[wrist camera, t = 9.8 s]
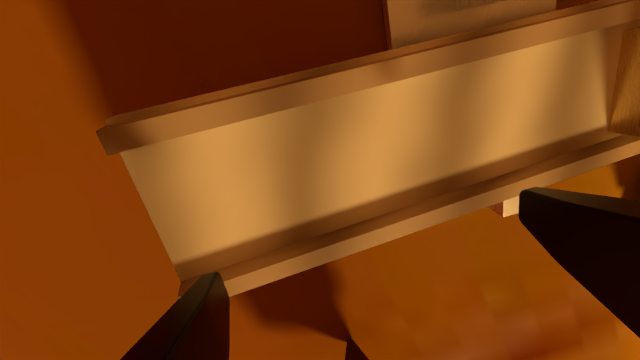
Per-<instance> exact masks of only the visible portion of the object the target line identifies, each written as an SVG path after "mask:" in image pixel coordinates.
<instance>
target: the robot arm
mask: <svg viewBox="0 0 640 360" xmlns="http://www.w3.org/2000/svg"><path fill="white" fill-rule="evenodd" d="M518 215H519V219H520V221H521V223H522V224H523V225H524V226H525V227H526V228H527V229H528V231H529V232H530V233H531V234H532V235H533V236H534V237H535V238H536V239H537V240H538V242H539V243H540V244H541V245H542V246H543V247H544V248H545V249H546V250H547V252H548V253H549V254H550V255H551V256H552V257H553V258H554V259H555V260H556V261H557V262H558V263H559V264H560V265H561V266H562V267H563V268H564V269H565V270H566V271H567V272H568V273H569V274H571V275H572V276H573V277H574V278H575V279H576V280H577V281H578V282H579V283H580V284H581V285H583V286H584V287H585V288H586V289H587V290H588V291H589V292H590V293H591V294H592V295H593V296H595V297H596V298H597V299H598V300H599V301H600V302H601V303H602V304H603V305H604V306H605V307H606V308H608V309H609V310H610V311H611V312H612V313H613V314H614V315H615V316H616V317H617V318H618V319H620V320H621V321H622V322H623V323H624V324H625V325H626V326H627V327H628V328H629V329H630V330H632V331H633V332H634V333H635V334H636V335H637V336H638V337H639V338H640V201H638V200H630V199H623V198H615V197H608V196H601V195H593V194H586V193H578V192H571V191H564V190H556V189H549V188H541V187H532V188H528V189H525V190H522V191H521V192H520V194H519V211H518ZM229 307H230V302H229V295H228V292H227V289H226V287H225V285H224V282H223V280H222V277H221V275H220V273H219V272H218V271H213V272H209V273H206V274H203V275H202V276H201V277H200V278H199V279H198V280H197V281H196V282H195V283H194V284H193V285H192V286H191V287H190V288H189V289H188V290H187V291H186V292H185V293H184V294H183V295H182V296H181V297H180V298H179V299H178V300H177V301H176V302H175V304H174V305H173V306H172V307H171V308H170V309H169V310H168V311H167V312H166V313H165V314H164V315H163V316H162V317H161V318H160V319H159V320H158V321H157V322H156V323H155V324H154V325H153V326H152V327H151V328H150V329H149V330H148V331H147V332H146V333H145V334H144V336H143V337H142V338H141V339H140V340H139V341H138V342H137V343H136V344H135V345H134V346H133V347H132V348H131V349H130V350H129V351H128V352H127V353H126V354H125V355H124V356H123V357H122V358H121V359H120V360H229Z"/></svg>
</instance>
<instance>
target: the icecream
mask: <svg viewBox="0 0 640 360" xmlns="http://www.w3.org/2000/svg"><path fill="white" fill-rule="evenodd" d="M345 360H369V359H368V358H367V357H366V356H365V354H364V353H363V352H362V351H361V349H360V348H359V347H358V345H357V344H356V343H355V342H354V341H353V340H351V339H350V340H348V341H347V347H346V355H345Z"/></svg>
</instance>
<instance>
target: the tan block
mask: <svg viewBox="0 0 640 360" xmlns="http://www.w3.org/2000/svg"><path fill="white" fill-rule="evenodd" d="M608 131H609V132H614V133H620V134H625V135H631V136H637V137H640V26H638V27H634V28H630V29H626V30H623V35H622V42H621V48H620V54H619V61H618V67H617V73H616V80H615V86H614V92H613V99H612V105H611V111H610V118H609V124H608Z"/></svg>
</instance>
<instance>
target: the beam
mask: <svg viewBox="0 0 640 360" xmlns="http://www.w3.org/2000/svg"><path fill="white" fill-rule="evenodd" d="M638 26H640V0H599V1H594V2H590V3H586V4H582V5H578V6H573V7H569V8H565V9H561V10H556V11H552V12H548V13H544V14H540V15H535V16H531V17H527V18H523V19H519V20H514V21H510V22H506V23H502V24H497V25H493V26H489V27H485V28H481V29H476V30H472V31H468V32H464V33H460V34H455V35H451V36H447V37H443V38H438V39H434V40H430V41H426V42H422V43H417V44H413V45H409V46H405V47H401V48H396V49H392V50H388V51H384V52H379V53H375V54H371V55H367V56H363V57H358V58H354V59H350V60H346V61H341V62H337V63H333V64H329V65H325V66H320V67H316V68H312V69H308V70H304V71H299V72H295V73H291V74H287V75H282V76H278V77H274V78H270V79H266V80H261V81H257V82H253V83H249V84H245V85H240V86H236V87H232V88H228V89H223V90H219V91H215V92H211V93H207V94H202V95H198V96H194V97H190V98H186V99H181V100H177V101H173V102H169V103H164V104H160V105H156V106H152V107H148V108H143V109H139V110H135V111H131V112H127V113H122V114H118V115H114V116H112V117H109V118H107V119H105V120H104V121H105V123H106V125H107V126H105V127H103V128H102V129H100V130H98V131H96V133H97V135H98V137H99V139H100V141H101V143H102V145H103V147H104V149H105V151H106V153H107V155H112V154H116V153H120V155H121V157H122V159H123V161H124V163H125V165H126V167H127V169H128V171H129V173H130V176H131V178H132V180H133V182H134V184H135V186H136V188H137V190H138V192H139V194H140V196H141V199H142V201H143V203H144V205H145V207H146V209H147V211H148V213H149V215H150V217H151V219H152V222H153V224H154V226H155V228H156V230H157V232H158V234H159V236H160V238H161V240H162V242H163V245H164V247H165V249H166V251H167V253H168V255H169V257H170V259H171V261H172V263H173V266H174V268H175V270H176V272H177V274H178V276H179V278H180V280H181V285H180V289H179V294H178V299H179V298H180V297H181V296H182V295H183V294H184V293H185V292H186V291H187V290H188V289H189V288H190V287H191V286H192V285H193V284H194V283H195V282H196V281H197V280H198V279H199V278H200V277H201V276H202V275H203V274H206V273H209V272H213V271H218V272H219V273H220V275H221V277H222V280H223V282H224V285H225V287H226V289H227V292H228V295H229V297H231V296H233V295H236V294H239V293H242V292H245V291H248V290H251V289H253V288H256V287H259V286H262V285H265V284H268V283H271V282H274V281H276V280H279V279H282V278H285V277H288V276H291V275H294V274H296V273H299V272H302V271H305V270H308V269H311V268H314V267H316V266H319V265H322V264H325V263H328V262H331V261H334V260H336V259H339V258H342V257H345V256H348V255H351V254H354V253H357V252H359V251H362V250H365V249H368V248H371V247H374V246H377V245H379V244H382V243H385V242H388V241H391V240H394V239H397V238H399V237H402V236H405V235H408V234H411V233H414V232H417V231H420V230H422V229H425V228H428V227H431V226H434V225H437V224H440V223H442V222H445V221H448V220H451V219H454V218H457V217H460V216H462V215H465V214H468V213H471V212H474V211H477V210H480V209H482V208H485V207H488V206H491V205H494V204H497V203H500V202H503V201H505V200H508V199H511V198H514V197H517V196H519V194H520V192H521V191H522V190H525V189H528V188H532V187H541V188H543V187H545V186H548V185H551V184H554V183H557V182H560V181H563V180H566V179H568V178H571V177H574V176H577V175H580V174H583V173H586V172H588V171H591V170H594V169H597V168H600V167H603V166H606V165H608V164H611V163H614V162H617V161H620V160H623V159H626V158H628V157H631V156H634V155H637V154H640V137H637V136H631V135H625V134H620V133H614V132H609V131H608V124H609V118H610V111H611V105H612V99H613V92H614V86H615V80H616V73H617V67H618V61H619V54H620V48H621V42H622V35H623V30H626V29H630V28H634V27H638Z"/></svg>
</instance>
